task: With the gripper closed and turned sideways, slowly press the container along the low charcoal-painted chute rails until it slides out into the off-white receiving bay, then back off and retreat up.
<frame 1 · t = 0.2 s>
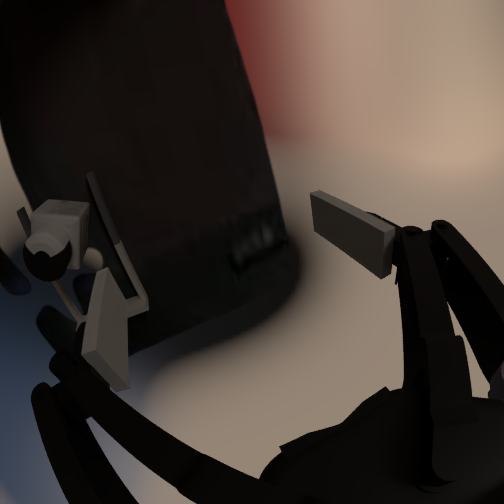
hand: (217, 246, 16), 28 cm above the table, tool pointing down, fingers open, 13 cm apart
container: (67, 223, 36), on the table
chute: (82, 255, 39), on the table
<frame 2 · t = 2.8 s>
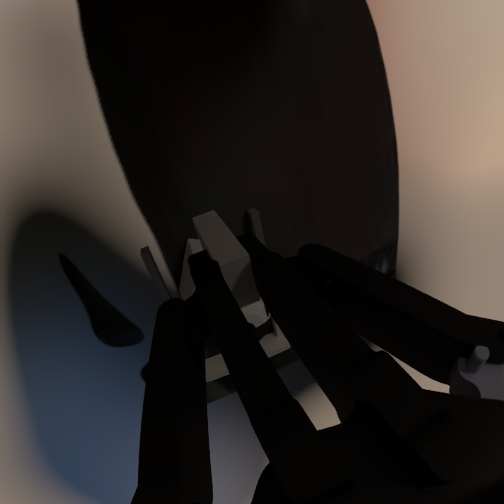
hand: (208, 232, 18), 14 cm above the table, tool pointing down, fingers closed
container: (210, 266, 36), on the table
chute: (222, 300, 39), on the table
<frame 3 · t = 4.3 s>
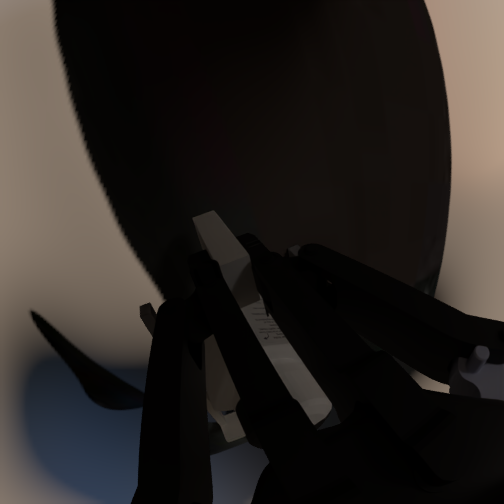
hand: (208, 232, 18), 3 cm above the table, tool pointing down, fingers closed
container: (235, 321, 26), on the table
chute: (249, 357, 29), on the table
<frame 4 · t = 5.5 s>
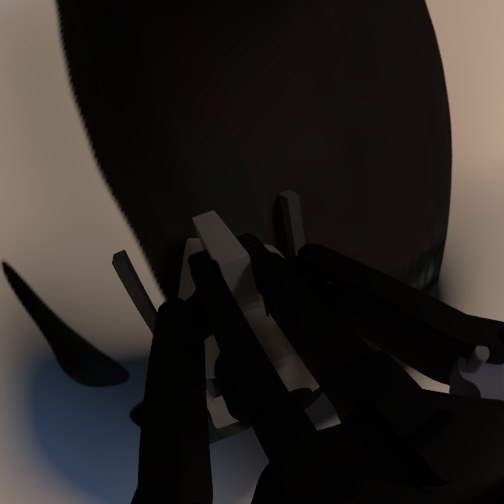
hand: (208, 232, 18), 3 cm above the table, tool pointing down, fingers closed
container: (222, 279, 24), on the table, touching gripper
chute: (238, 326, 27), on the table
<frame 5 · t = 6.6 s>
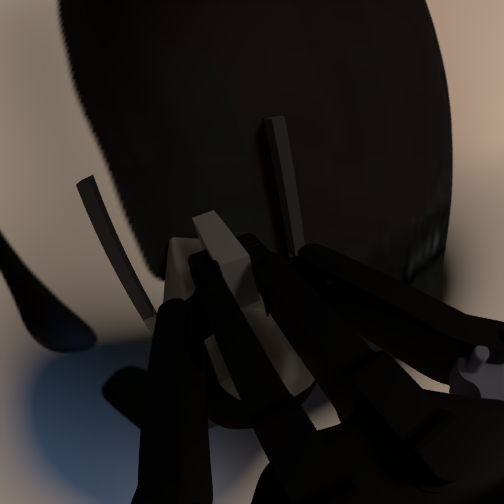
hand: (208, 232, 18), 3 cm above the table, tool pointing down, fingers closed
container: (208, 279, 23), on the table, touching gripper
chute: (221, 278, 24), on the table
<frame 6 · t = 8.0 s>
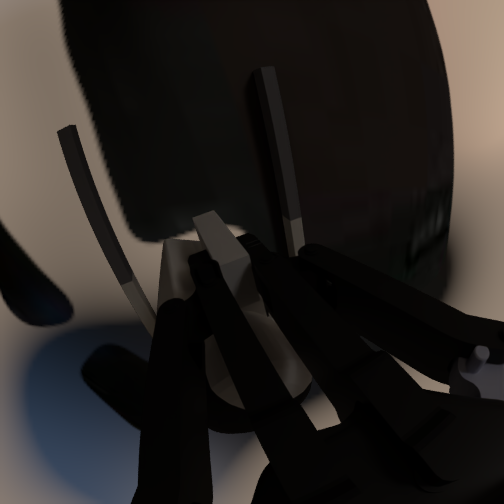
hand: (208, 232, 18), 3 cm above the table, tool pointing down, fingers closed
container: (203, 281, 23), on the table, touching gripper
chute: (208, 241, 21), on the table
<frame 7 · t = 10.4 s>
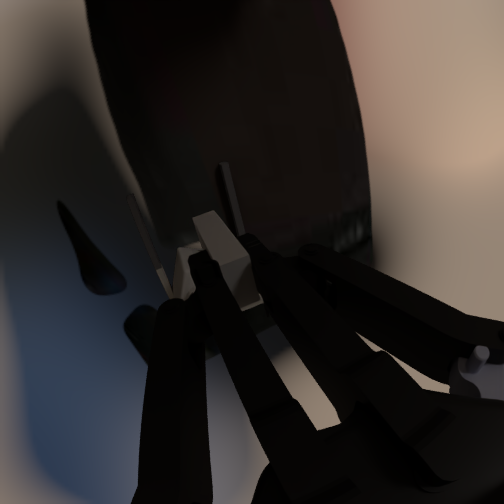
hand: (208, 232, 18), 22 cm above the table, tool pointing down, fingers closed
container: (196, 269, 44), on the table
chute: (199, 248, 43), on the table
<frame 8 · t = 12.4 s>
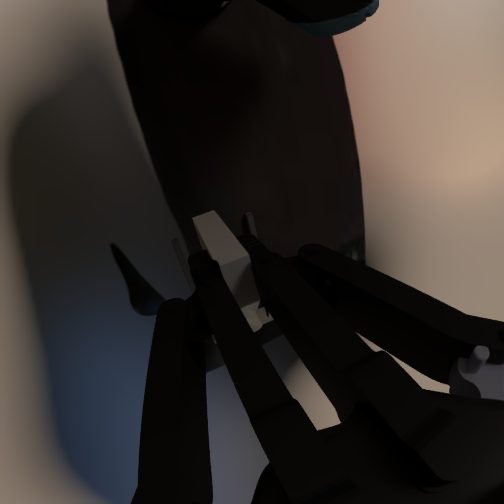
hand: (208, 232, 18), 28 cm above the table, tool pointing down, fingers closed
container: (225, 293, 56), on the table
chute: (227, 278, 55), on the table
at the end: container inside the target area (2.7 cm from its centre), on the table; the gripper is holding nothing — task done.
